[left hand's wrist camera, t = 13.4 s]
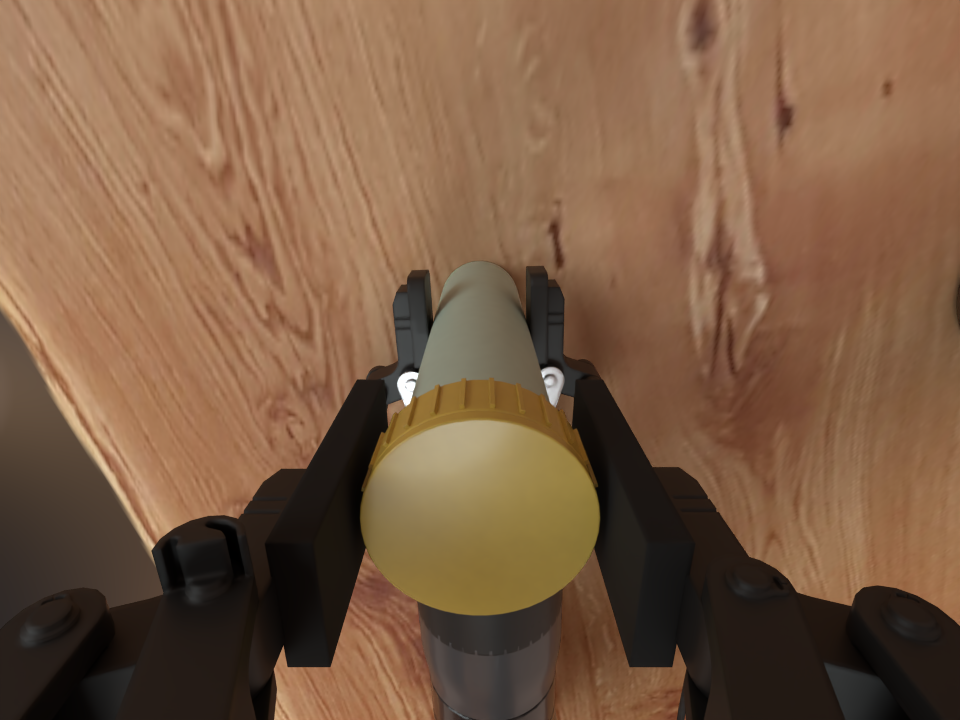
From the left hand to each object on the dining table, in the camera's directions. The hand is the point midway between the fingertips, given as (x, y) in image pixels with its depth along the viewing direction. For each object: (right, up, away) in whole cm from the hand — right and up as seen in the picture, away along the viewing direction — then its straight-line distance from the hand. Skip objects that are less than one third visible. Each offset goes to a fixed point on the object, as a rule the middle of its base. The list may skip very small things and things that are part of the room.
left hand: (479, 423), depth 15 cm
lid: (0, -1, -4) cm, 4 cm away
